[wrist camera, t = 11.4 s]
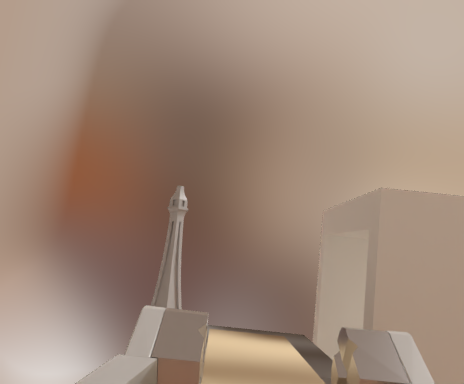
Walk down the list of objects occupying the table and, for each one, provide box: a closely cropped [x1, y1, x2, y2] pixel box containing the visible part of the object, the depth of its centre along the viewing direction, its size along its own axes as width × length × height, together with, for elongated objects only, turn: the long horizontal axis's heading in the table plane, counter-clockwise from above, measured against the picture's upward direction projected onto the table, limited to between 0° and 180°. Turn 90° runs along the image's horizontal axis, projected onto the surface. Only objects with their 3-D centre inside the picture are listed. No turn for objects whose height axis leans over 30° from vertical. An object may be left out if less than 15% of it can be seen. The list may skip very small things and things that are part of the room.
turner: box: [201, 325, 333, 384], centre depth 17 cm, size 23×9×3 cm, turn 1°
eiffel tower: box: [151, 186, 188, 310], centre depth 58 cm, size 13×13×30 cm
